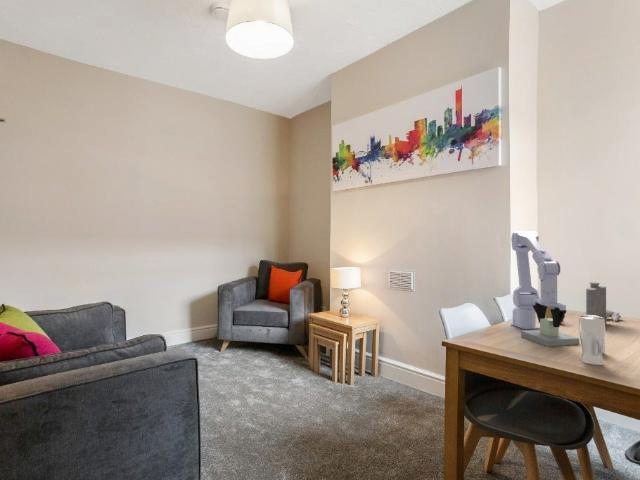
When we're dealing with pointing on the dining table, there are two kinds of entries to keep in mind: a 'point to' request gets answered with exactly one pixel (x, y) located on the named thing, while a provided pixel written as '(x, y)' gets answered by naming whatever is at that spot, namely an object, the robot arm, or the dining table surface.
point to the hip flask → (596, 300)
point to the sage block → (548, 327)
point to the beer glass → (592, 339)
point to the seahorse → (611, 315)
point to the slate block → (550, 338)
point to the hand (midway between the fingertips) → (548, 324)
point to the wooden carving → (549, 315)
